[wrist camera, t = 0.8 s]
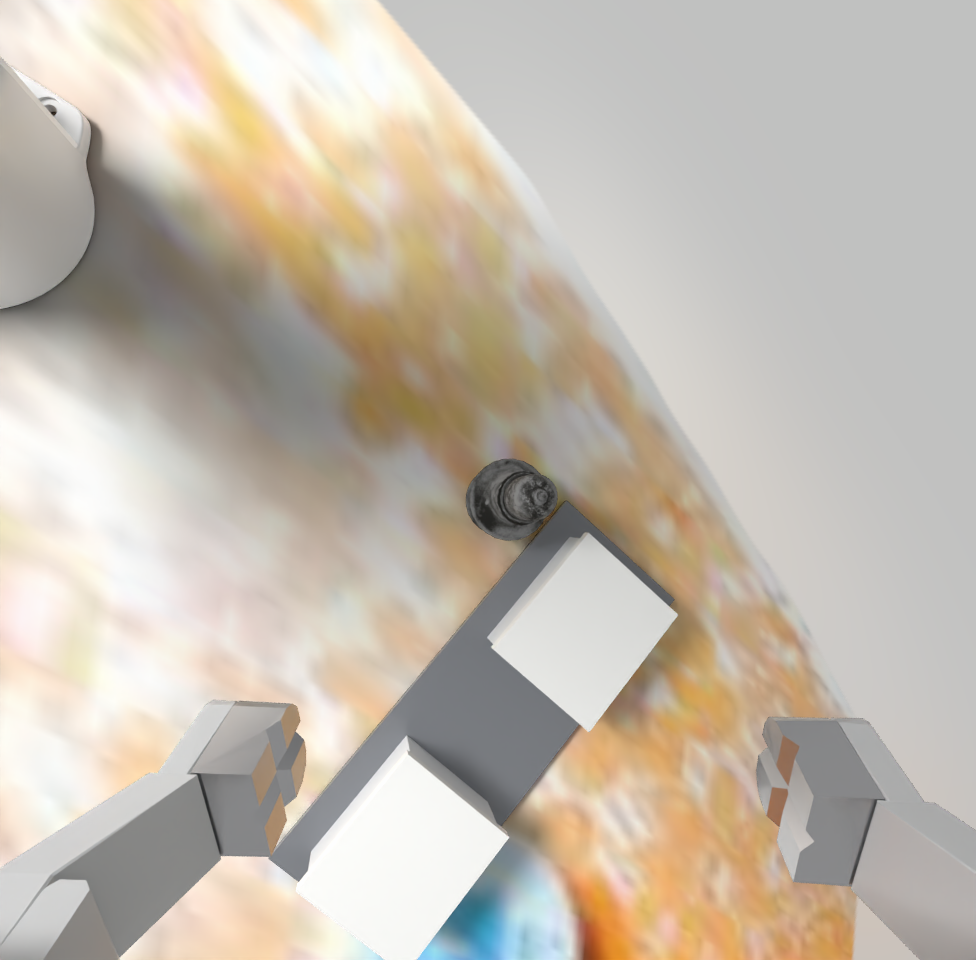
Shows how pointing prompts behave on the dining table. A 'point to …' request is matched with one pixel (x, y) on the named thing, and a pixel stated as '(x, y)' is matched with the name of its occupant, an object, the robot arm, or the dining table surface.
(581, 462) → the dining table surface
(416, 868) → the grey mounting plate
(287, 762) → the robot arm
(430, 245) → the dining table surface
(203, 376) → the dining table surface
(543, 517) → the dark grey upright figurine
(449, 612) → the dining table surface
